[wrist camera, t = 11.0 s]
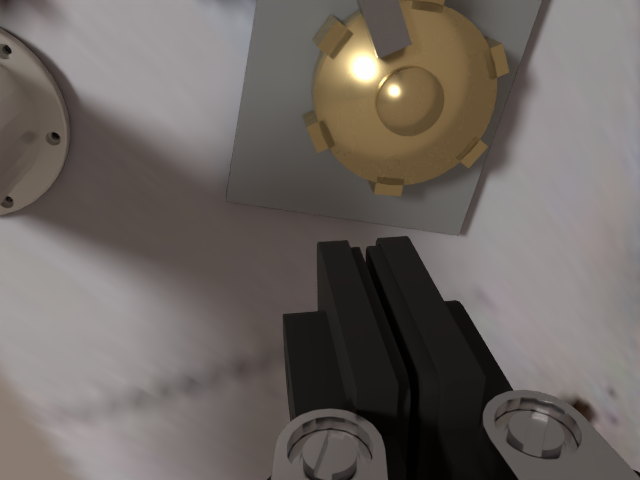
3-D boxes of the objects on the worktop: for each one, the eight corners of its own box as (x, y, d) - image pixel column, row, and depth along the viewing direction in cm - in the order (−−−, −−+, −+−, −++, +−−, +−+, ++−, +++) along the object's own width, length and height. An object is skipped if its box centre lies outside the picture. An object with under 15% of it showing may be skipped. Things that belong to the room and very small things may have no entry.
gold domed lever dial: (509, 132, 40) (573, 180, 32) (339, 203, 41) (362, 265, 33) (442, -145, 32) (506, -167, 24) (232, -50, 33) (231, -43, 25)
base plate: (226, 194, 41) (225, 202, 40) (269, -79, 34) (270, -79, 33) (453, 228, 44) (459, 236, 43) (537, -12, 37) (546, -11, 36)
